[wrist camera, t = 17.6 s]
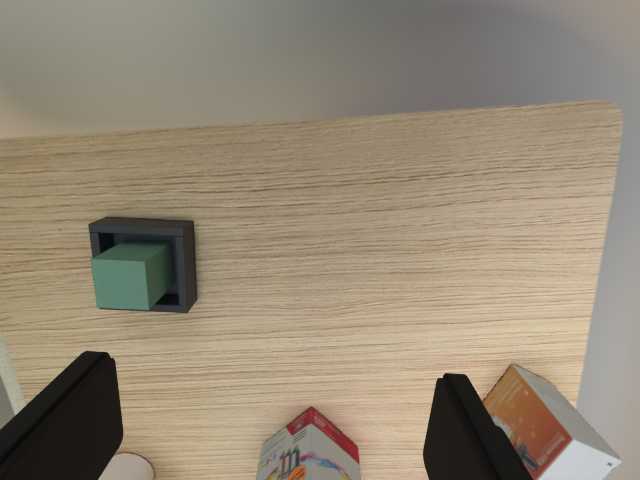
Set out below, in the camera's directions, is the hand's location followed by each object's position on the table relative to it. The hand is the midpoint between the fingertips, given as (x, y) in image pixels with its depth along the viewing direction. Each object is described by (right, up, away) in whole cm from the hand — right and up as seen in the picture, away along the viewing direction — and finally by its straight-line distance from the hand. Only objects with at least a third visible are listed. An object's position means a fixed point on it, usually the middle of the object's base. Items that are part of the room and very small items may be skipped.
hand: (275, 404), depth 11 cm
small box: (+23, -14, +32) cm, 42 cm away
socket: (-16, +3, +27) cm, 31 cm away
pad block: (-16, +3, +26) cm, 31 cm away
